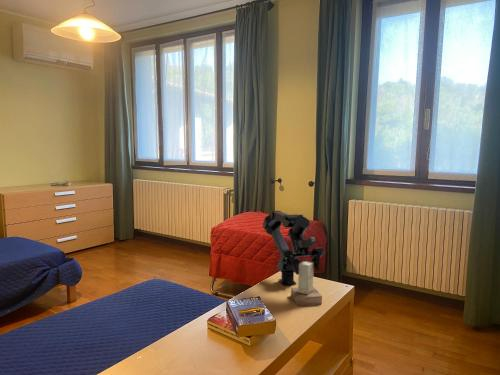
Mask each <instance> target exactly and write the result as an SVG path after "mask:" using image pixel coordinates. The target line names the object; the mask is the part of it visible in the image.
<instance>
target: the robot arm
mask: <svg viewBox="0 0 500 375" xmlns="http://www.w3.org/2000/svg"><path fill="white" fill-rule="evenodd" d="M310 224H311V222H310V220H309V219H308V218H307V217H305V216H304V214H288V213H285V212H282V211H281V210H271V211H270V212H269V214H268V215H267V216H265V217H264V219H263V222H262V229H264V231H265V233H266V234H268V235H270V236H271V239H272V241H273V242H274V245H275V246H276V249H277V250H278V253H279V254H280V255H279V261H278V263H277V264H276V266H277V270H278V271H279V272H280V273H281V278H279V279H278V281H279V282H280V284H281V285H282V286H290V285H291V286H292V285H297V282H296V281H295V279H294V278H295V275H297V276H299V264H300V263H301V261H300V258H302V257H303V258H304V257H310V258H312V259H311V262H314V266H313V268H314V269H315V272H316V273H320V259H321V258H322V257H323V256H324V254H325V253H326V252H325V249H324V248H323V247H313V246H315V245H316V244H317V241H316V238H315V236H312V237H311V236H310V237H309V238H308V239H307V238H304V234H305V233H306V232H307V229H308V228H309V227H310ZM281 226H283V227H284V228H285V229H288V228H289V229H288V232H287V237H289V239H290V242H291V245H290V247H291V248H292V249H289V248H290V247H289V246H288V244H287V242H286V240H285V238H284V237H283V234H282V232H281ZM311 248H313V249H312V250H310V249H311ZM294 274H295V275H294Z"/></svg>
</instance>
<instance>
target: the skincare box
mask: <svg viewBox="0 0 500 375" xmlns="http://www.w3.org/2000/svg"><path fill="white" fill-rule="evenodd" d="M298 273H299V274H298V279H297V280H298V281H297V288H298V292H299V293H304V294H308V293H310V292H311V291H312V290H313V287H314V262H312V261H307V260H303V261H302V262H301V261H300V264H299V269H298Z"/></svg>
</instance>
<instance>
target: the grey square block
mask: <svg viewBox="0 0 500 375" xmlns="http://www.w3.org/2000/svg"><path fill="white" fill-rule="evenodd" d="M290 296H291V298H292V300H293V301H294V302H295V304H296V305H297V306H298V307H303V306H304V305H305V306H314V305H315V306H316V305H322V303H323V296H322V294H320V293H319V291H318V290H317V289H316V288H315V287H314V286H313V290H312V291H311V292H310V293H308V294H304V293H299V292H298V287H292V288H290Z"/></svg>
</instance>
